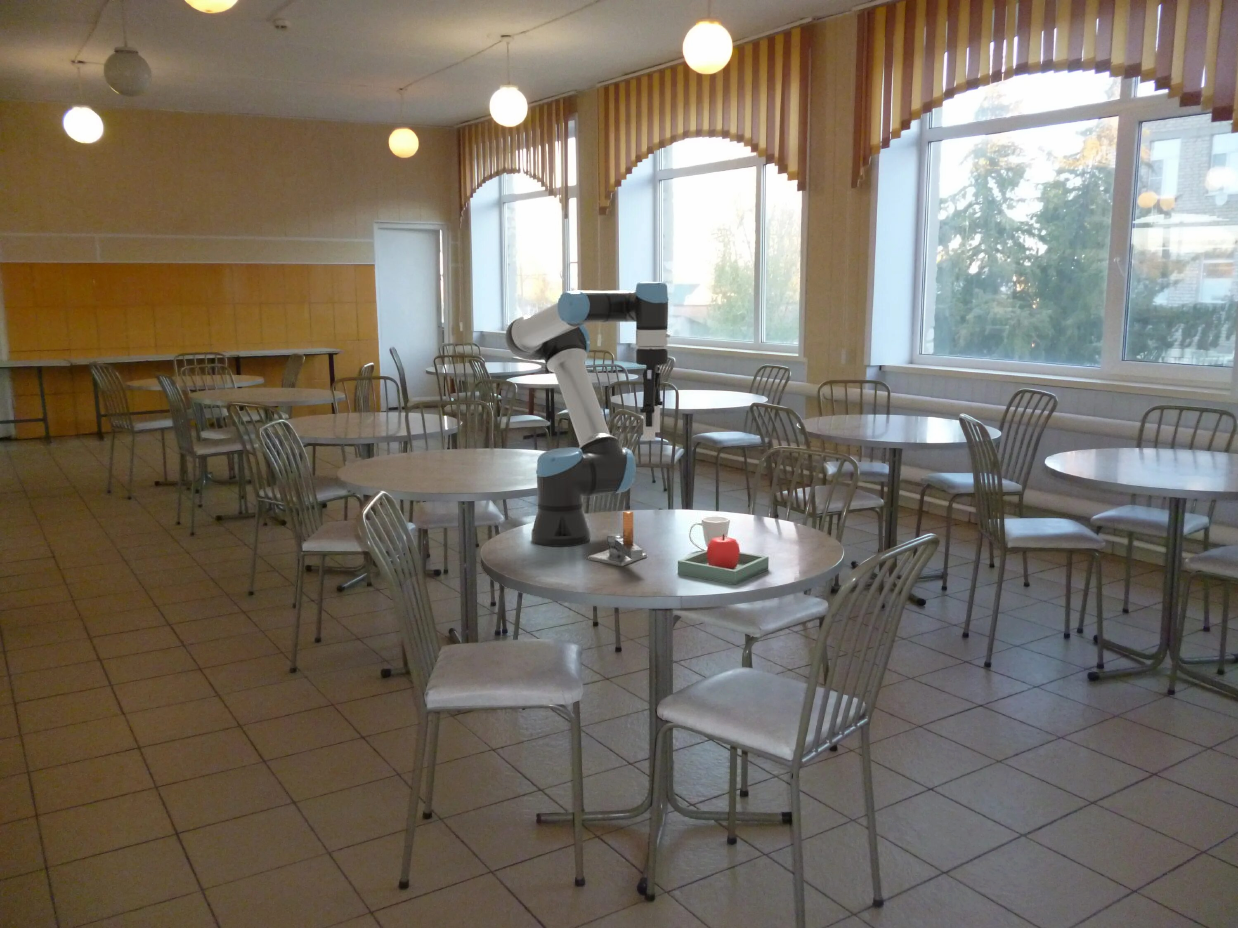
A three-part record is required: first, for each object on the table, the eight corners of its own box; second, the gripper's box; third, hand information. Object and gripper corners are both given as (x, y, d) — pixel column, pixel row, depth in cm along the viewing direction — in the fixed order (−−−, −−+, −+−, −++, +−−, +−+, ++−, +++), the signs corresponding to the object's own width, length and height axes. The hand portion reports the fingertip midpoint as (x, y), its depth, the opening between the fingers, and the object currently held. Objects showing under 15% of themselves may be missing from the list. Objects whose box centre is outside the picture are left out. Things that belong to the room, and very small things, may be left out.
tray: (677, 573, 228) (677, 560, 227) (712, 559, 239) (712, 547, 239) (734, 584, 219) (735, 571, 218) (768, 569, 230) (768, 556, 230)
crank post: (588, 559, 240) (588, 546, 239) (613, 550, 248) (613, 538, 247) (621, 566, 234) (621, 552, 233) (646, 557, 242) (646, 544, 241)
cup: (729, 554, 244) (730, 522, 242) (688, 554, 244) (688, 521, 243) (729, 547, 250) (730, 516, 249) (689, 546, 251) (689, 515, 250)
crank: (604, 542, 242) (604, 504, 240) (624, 540, 243) (624, 502, 242) (626, 559, 226) (626, 518, 225) (647, 557, 228) (647, 516, 226)
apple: (715, 561, 234) (715, 528, 233) (746, 566, 230) (747, 532, 229) (699, 569, 228) (699, 535, 226) (731, 574, 223) (731, 540, 222)
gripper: (663, 350, 226) (663, 444, 229) (671, 345, 250) (671, 429, 254) (630, 350, 227) (630, 443, 230) (641, 345, 251) (641, 428, 255)
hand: (651, 436), depth 242 cm, fingers open, 13 cm apart
